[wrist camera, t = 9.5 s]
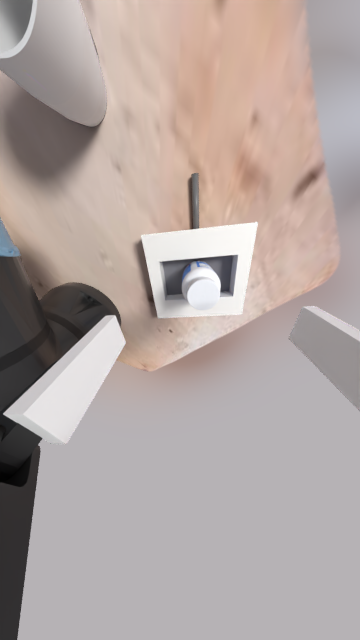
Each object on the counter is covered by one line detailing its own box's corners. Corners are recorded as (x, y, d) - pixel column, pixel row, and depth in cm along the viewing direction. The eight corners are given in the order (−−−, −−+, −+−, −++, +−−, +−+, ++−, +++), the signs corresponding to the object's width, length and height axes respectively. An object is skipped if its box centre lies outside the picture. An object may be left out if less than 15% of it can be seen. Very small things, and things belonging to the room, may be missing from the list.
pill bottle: (189, 294, 26) (189, 321, 18) (177, 268, 24) (172, 284, 16) (216, 283, 25) (230, 307, 17) (207, 254, 22) (218, 264, 14)
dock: (160, 311, 29) (158, 318, 27) (137, 184, 19) (128, 176, 16) (237, 307, 27) (241, 314, 25) (257, 166, 17) (269, 154, 14)
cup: (131, 70, 14) (43, -184, 6) (107, 164, 18) (33, 99, 9) (48, -20, 12) (-296, -647, 3) (41, 108, 16) (-133, -41, 7)
